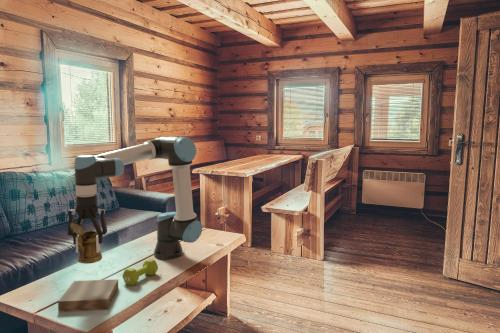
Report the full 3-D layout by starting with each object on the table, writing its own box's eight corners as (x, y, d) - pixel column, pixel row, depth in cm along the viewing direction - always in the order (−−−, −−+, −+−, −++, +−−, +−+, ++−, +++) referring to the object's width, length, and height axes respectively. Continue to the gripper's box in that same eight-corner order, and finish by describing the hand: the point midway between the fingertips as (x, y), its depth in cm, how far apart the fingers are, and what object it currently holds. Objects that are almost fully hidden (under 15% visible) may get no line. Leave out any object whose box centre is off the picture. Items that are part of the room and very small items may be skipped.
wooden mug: (64, 266, 143) (62, 221, 141) (88, 254, 156) (86, 212, 154) (84, 269, 141) (82, 223, 139) (106, 257, 154) (105, 214, 152)
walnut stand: (118, 288, 160) (118, 279, 160) (107, 309, 143) (107, 299, 142) (74, 290, 158) (74, 281, 158) (58, 311, 140) (57, 301, 140)
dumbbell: (133, 288, 161) (133, 272, 160) (120, 284, 165) (120, 268, 164) (159, 274, 176) (159, 260, 175) (147, 271, 179) (146, 256, 178)
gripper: (115, 192, 150) (116, 247, 153) (63, 193, 147) (65, 249, 150) (110, 196, 143) (112, 254, 146) (55, 197, 140) (58, 255, 143)
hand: (88, 251), depth 148 cm, fingers closed on wooden mug, 7 cm apart
